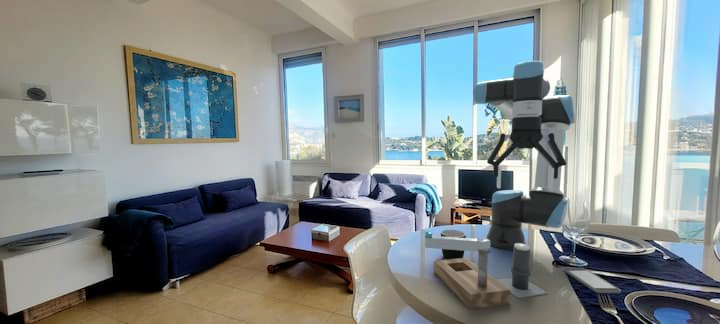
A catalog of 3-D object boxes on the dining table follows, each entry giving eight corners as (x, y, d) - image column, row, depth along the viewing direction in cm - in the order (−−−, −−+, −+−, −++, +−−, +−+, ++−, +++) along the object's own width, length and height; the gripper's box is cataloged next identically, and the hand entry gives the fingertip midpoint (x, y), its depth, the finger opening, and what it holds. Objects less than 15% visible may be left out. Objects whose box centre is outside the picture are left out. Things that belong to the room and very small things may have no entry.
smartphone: (584, 268, 100) (622, 290, 85) (584, 271, 100) (622, 294, 85) (562, 268, 100) (596, 290, 85) (562, 270, 100) (596, 294, 85)
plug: (520, 280, 92) (522, 241, 90) (534, 289, 86) (536, 248, 85) (506, 282, 90) (507, 243, 89) (519, 291, 85) (521, 249, 84)
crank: (488, 248, 83) (489, 234, 82) (491, 253, 79) (491, 238, 79) (425, 244, 87) (425, 230, 86) (425, 248, 83) (425, 234, 83)
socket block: (465, 268, 101) (466, 230, 100) (510, 303, 80) (511, 255, 79) (434, 272, 99) (434, 233, 98) (470, 308, 77) (472, 259, 76)
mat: (521, 278, 94) (521, 276, 94) (547, 294, 84) (547, 292, 84) (494, 281, 92) (494, 280, 92) (517, 298, 82) (517, 296, 82)
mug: (469, 263, 105) (469, 236, 104) (445, 264, 105) (445, 237, 104) (456, 251, 117) (457, 226, 116) (435, 251, 117) (435, 227, 116)
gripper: (481, 117, 85) (479, 188, 86) (582, 114, 77) (578, 193, 78) (479, 118, 92) (477, 184, 93) (572, 116, 84) (568, 188, 86)
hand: (523, 188), depth 86 cm, fingers open, 13 cm apart
